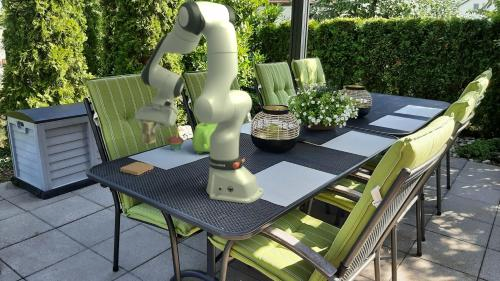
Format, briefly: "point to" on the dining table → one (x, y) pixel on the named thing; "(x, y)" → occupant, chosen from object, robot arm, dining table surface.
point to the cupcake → (175, 142)
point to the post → (148, 132)
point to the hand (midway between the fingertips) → (147, 131)
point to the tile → (137, 168)
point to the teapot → (202, 137)
